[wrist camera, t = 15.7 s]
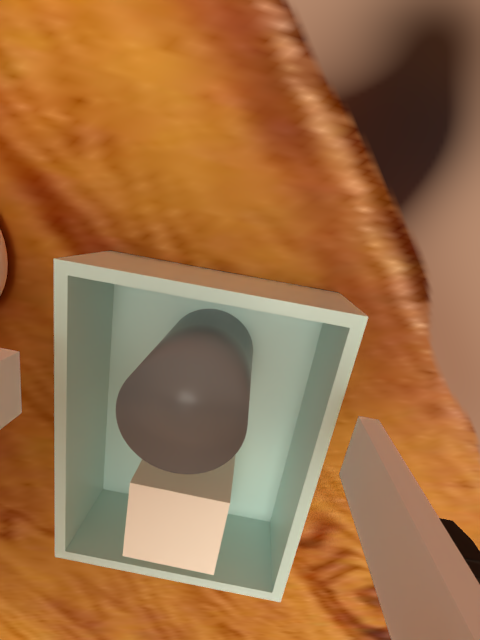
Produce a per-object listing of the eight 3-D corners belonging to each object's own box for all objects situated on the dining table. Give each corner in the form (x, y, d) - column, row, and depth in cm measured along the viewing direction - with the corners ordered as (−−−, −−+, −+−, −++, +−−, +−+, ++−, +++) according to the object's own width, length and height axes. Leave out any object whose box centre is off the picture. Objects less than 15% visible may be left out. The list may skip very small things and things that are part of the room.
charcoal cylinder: (165, 379, 19) (112, 461, 12) (173, 301, 18) (119, 346, 11) (245, 394, 19) (235, 484, 12) (260, 316, 17) (259, 371, 11)
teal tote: (98, 487, 23) (54, 556, 18) (110, 250, 18) (53, 258, 13) (276, 522, 22) (280, 602, 18) (339, 292, 17) (368, 316, 13)
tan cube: (153, 482, 21) (122, 555, 17) (161, 421, 20) (129, 482, 15) (224, 497, 21) (213, 575, 16) (237, 437, 20) (229, 503, 15)
